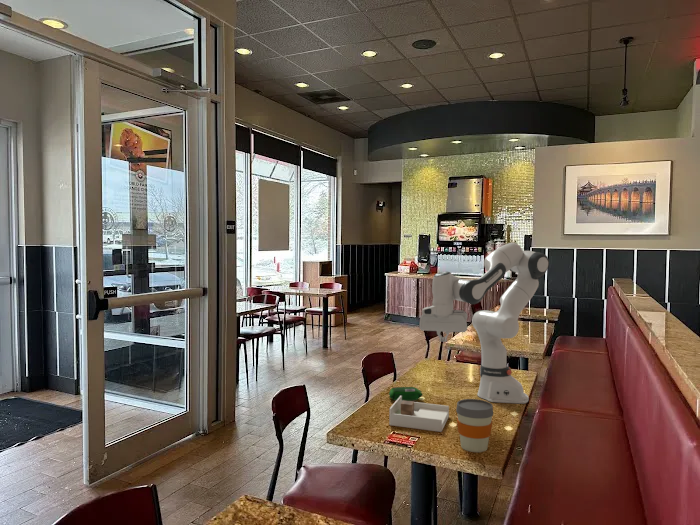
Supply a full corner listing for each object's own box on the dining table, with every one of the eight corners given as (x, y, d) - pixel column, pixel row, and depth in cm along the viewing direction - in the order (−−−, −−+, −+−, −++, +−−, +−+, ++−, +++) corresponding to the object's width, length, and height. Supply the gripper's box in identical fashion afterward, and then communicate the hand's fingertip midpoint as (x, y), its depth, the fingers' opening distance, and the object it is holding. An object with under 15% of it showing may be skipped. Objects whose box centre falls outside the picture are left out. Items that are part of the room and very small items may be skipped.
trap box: (448, 416, 208) (448, 401, 208) (441, 431, 192) (441, 414, 191) (400, 410, 215) (400, 395, 214) (389, 425, 198) (389, 408, 198)
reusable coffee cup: (451, 440, 184) (452, 399, 183) (485, 439, 185) (486, 398, 184) (461, 454, 171) (462, 410, 171) (498, 454, 172) (499, 410, 171)
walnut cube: (414, 412, 205) (414, 401, 205) (411, 416, 201) (412, 404, 201) (403, 411, 207) (403, 400, 207) (400, 414, 202) (400, 403, 202)
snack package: (424, 401, 227) (424, 390, 227) (389, 402, 226) (389, 390, 226) (421, 397, 235) (421, 385, 234) (387, 397, 234) (387, 386, 233)
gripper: (468, 309, 220) (468, 341, 221) (421, 307, 227) (421, 338, 228) (466, 311, 214) (466, 344, 215) (418, 310, 221) (418, 341, 222)
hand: (443, 341), depth 221 cm, fingers closed
